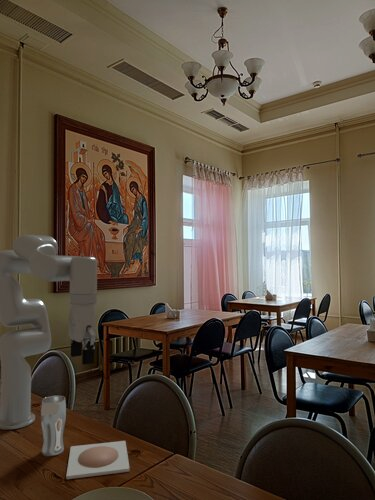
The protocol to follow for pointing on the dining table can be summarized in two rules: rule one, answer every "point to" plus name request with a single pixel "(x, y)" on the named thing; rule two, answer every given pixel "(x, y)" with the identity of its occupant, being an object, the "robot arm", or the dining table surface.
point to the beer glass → (53, 424)
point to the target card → (97, 459)
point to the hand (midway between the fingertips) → (81, 359)
